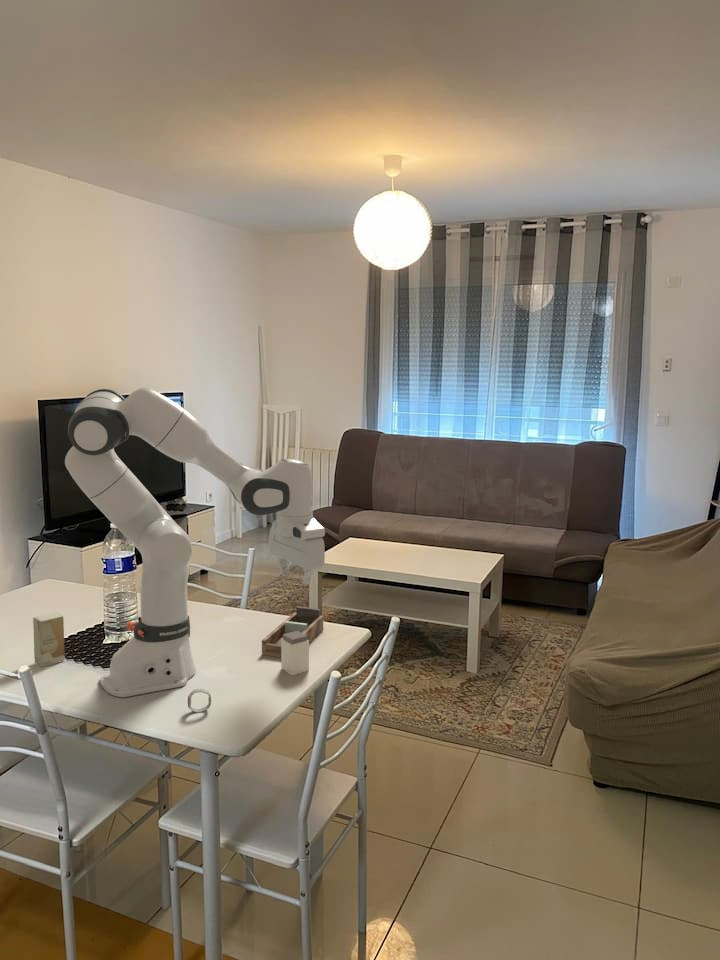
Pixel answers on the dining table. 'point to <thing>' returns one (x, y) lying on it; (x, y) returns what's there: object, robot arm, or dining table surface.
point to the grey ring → (190, 700)
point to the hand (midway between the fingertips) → (295, 579)
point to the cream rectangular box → (295, 653)
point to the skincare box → (48, 639)
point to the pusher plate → (294, 627)
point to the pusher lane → (303, 615)
